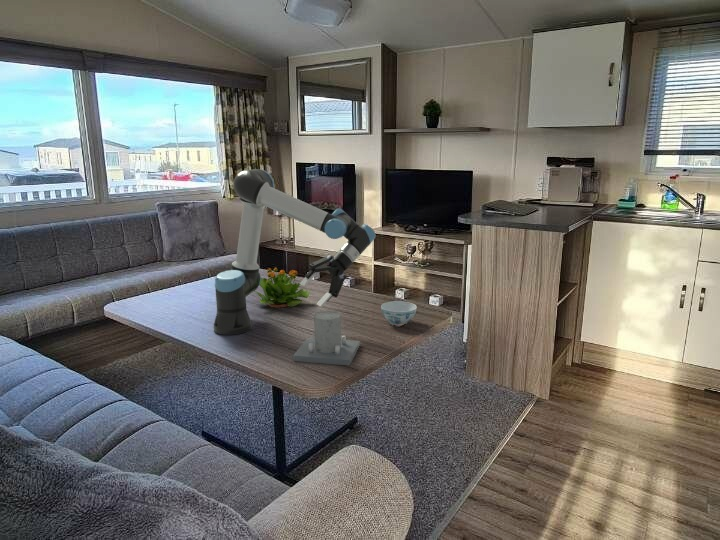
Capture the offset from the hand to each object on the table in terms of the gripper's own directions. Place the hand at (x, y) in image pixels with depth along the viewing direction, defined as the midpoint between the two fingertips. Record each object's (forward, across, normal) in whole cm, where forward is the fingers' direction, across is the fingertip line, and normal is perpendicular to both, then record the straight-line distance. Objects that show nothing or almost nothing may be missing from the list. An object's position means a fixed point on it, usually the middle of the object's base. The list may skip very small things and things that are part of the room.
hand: (310, 295), depth 192 cm
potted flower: (+6, +25, +41) cm, 48 cm away
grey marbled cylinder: (+12, +5, -21) cm, 24 cm away
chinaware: (-18, +34, -15) cm, 42 cm away
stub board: (+13, +6, -21) cm, 25 cm away
